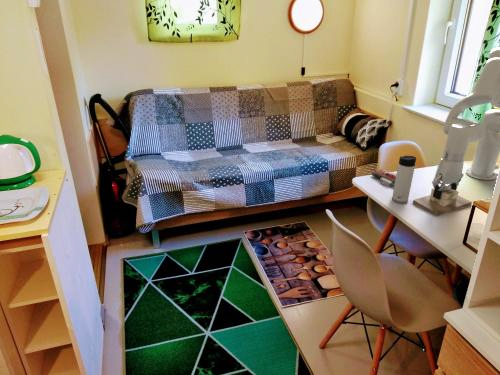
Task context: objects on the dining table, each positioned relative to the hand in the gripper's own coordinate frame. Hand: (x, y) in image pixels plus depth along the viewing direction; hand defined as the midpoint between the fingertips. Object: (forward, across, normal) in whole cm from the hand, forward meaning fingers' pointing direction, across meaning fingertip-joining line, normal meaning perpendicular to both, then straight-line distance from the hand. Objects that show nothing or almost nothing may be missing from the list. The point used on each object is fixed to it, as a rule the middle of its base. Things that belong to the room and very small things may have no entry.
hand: (443, 195), depth 156 cm
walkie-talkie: (+5, +3, -25) cm, 25 cm away
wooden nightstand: (+2, 0, 0) cm, 2 cm away
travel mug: (+4, +13, -10) cm, 17 cm away
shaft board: (+4, 0, 0) cm, 4 cm away
